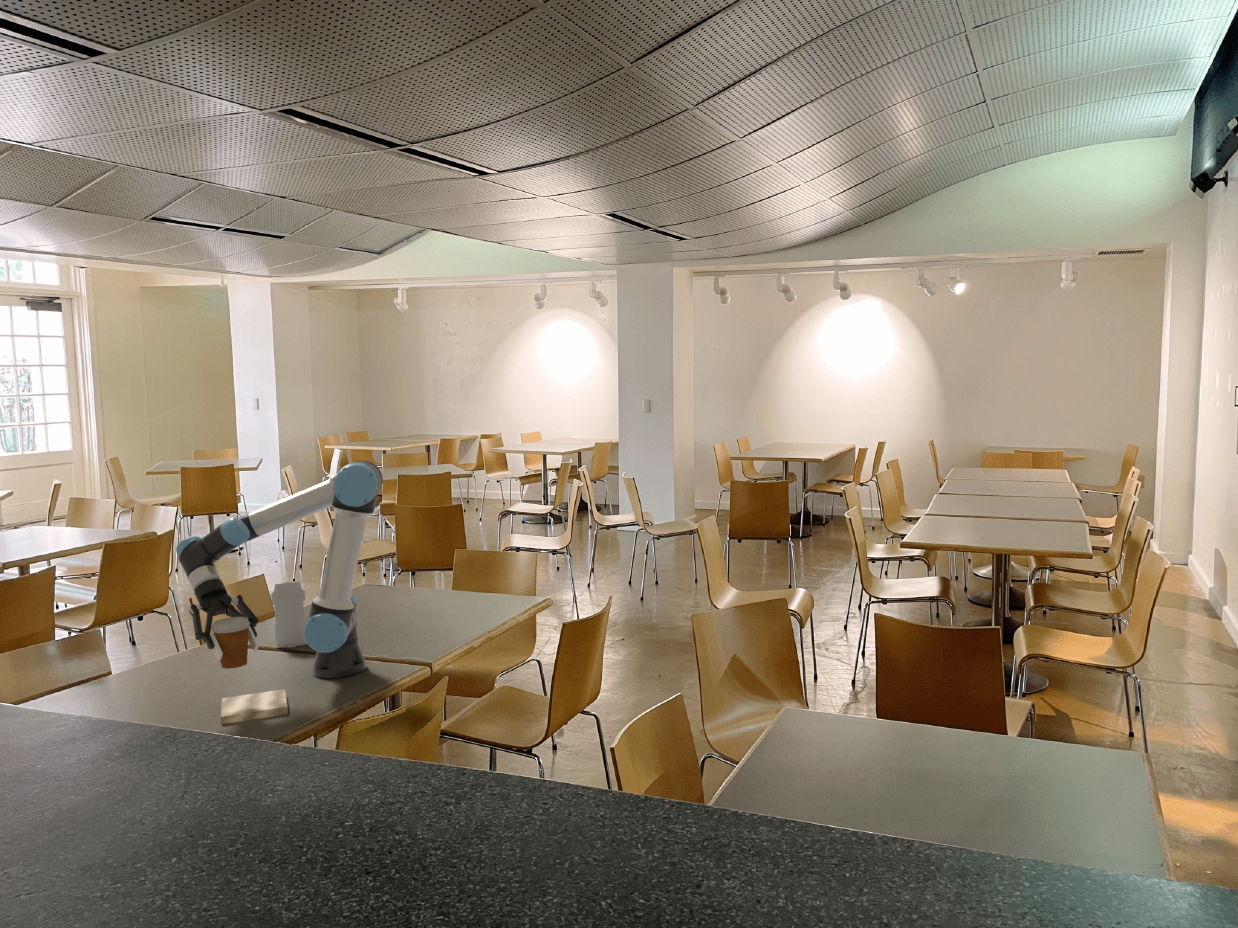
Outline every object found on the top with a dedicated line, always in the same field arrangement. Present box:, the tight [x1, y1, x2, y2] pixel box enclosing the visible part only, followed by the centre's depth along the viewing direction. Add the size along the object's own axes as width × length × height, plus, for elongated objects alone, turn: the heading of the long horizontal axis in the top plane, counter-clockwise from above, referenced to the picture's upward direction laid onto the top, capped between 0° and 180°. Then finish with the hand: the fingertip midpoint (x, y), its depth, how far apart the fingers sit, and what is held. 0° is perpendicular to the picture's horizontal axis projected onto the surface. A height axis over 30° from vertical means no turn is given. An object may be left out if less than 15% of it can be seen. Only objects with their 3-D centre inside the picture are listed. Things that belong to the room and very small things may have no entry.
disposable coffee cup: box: [211, 617, 250, 670], centre depth 243 cm, size 10×10×12 cm
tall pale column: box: [270, 580, 308, 649], centre depth 305 cm, size 11×4×22 cm, turn 108°
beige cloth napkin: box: [220, 688, 289, 726], centre depth 243 cm, size 16×16×2 cm
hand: (238, 652), depth 241 cm, fingers closed on disposable coffee cup, 9 cm apart
